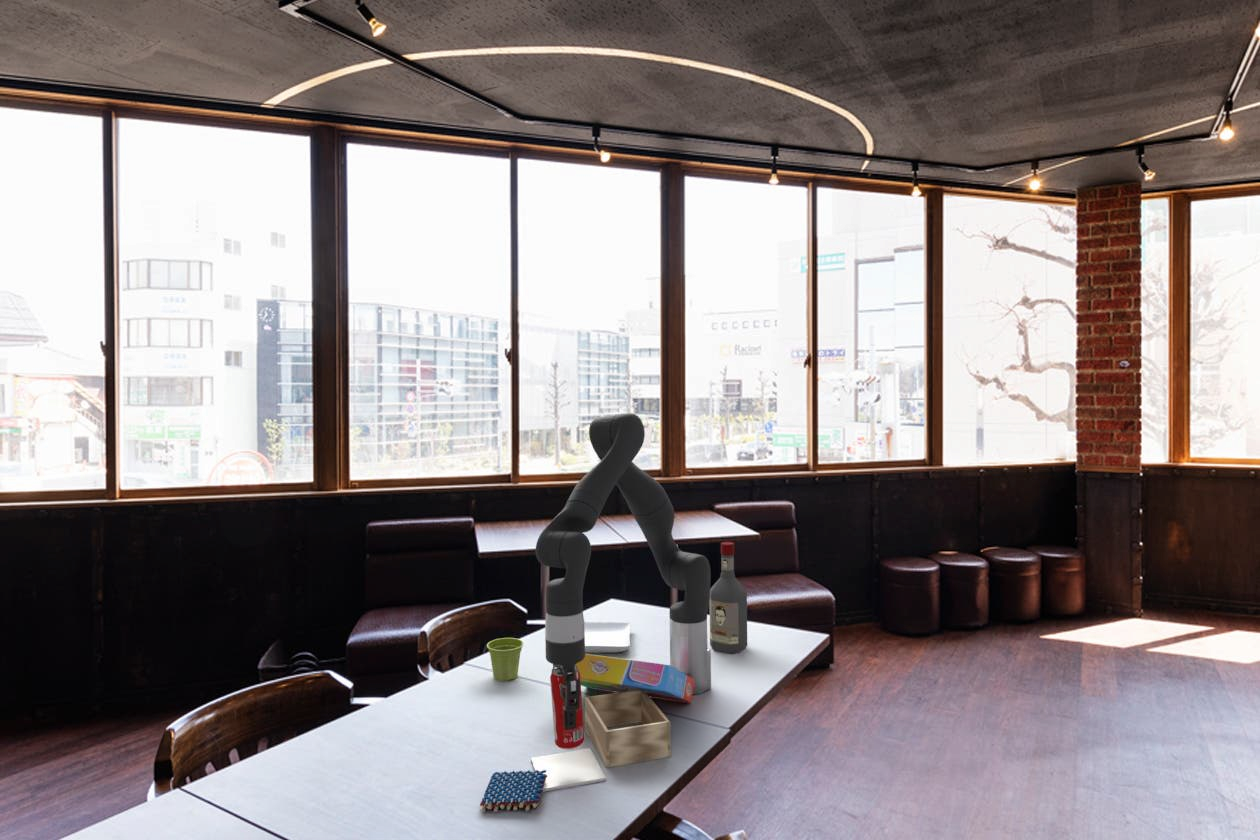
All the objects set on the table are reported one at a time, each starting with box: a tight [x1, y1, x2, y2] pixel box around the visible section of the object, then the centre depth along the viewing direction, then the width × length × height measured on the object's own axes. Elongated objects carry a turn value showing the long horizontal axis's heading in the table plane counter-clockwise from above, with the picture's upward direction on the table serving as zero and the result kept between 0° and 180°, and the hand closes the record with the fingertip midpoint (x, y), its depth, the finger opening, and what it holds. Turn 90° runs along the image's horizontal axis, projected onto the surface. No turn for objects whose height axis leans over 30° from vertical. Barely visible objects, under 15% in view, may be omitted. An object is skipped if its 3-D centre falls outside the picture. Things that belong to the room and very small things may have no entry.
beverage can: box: [549, 665, 585, 751], centre depth 138 cm, size 6×6×15 cm
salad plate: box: [584, 621, 632, 654], centre depth 210 cm, size 21×21×3 cm
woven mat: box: [479, 769, 547, 814], centre depth 129 cm, size 10×11×2 cm
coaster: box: [530, 748, 607, 793], centre depth 138 cm, size 12×12×1 cm
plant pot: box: [486, 637, 524, 682], centre depth 185 cm, size 9×9×9 cm
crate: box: [584, 689, 671, 769], centre depth 149 cm, size 13×17×7 cm
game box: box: [575, 653, 694, 704], centre depth 165 cm, size 21×6×27 cm
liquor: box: [709, 541, 748, 655], centre depth 204 cm, size 9×9×30 cm
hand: (566, 721), depth 138 cm, fingers closed on beverage can, 5 cm apart
